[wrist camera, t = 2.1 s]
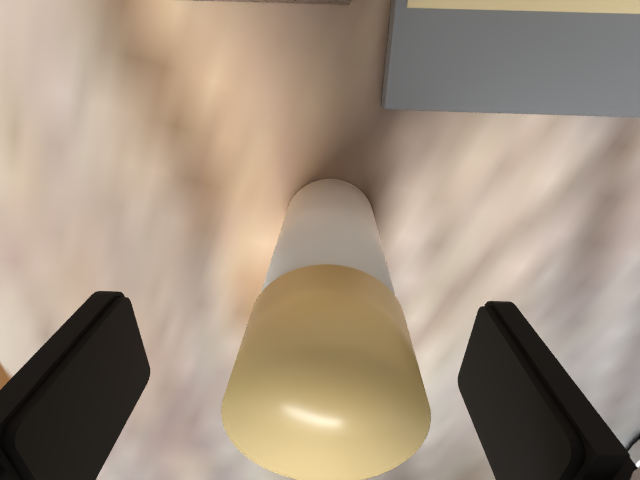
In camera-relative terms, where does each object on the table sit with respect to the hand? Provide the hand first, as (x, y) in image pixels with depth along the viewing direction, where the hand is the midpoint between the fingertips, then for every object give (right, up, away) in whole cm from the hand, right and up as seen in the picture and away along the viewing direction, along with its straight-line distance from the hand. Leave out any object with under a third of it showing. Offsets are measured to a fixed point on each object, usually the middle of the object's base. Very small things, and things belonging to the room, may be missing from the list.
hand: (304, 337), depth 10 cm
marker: (+1, +4, +8) cm, 9 cm away
